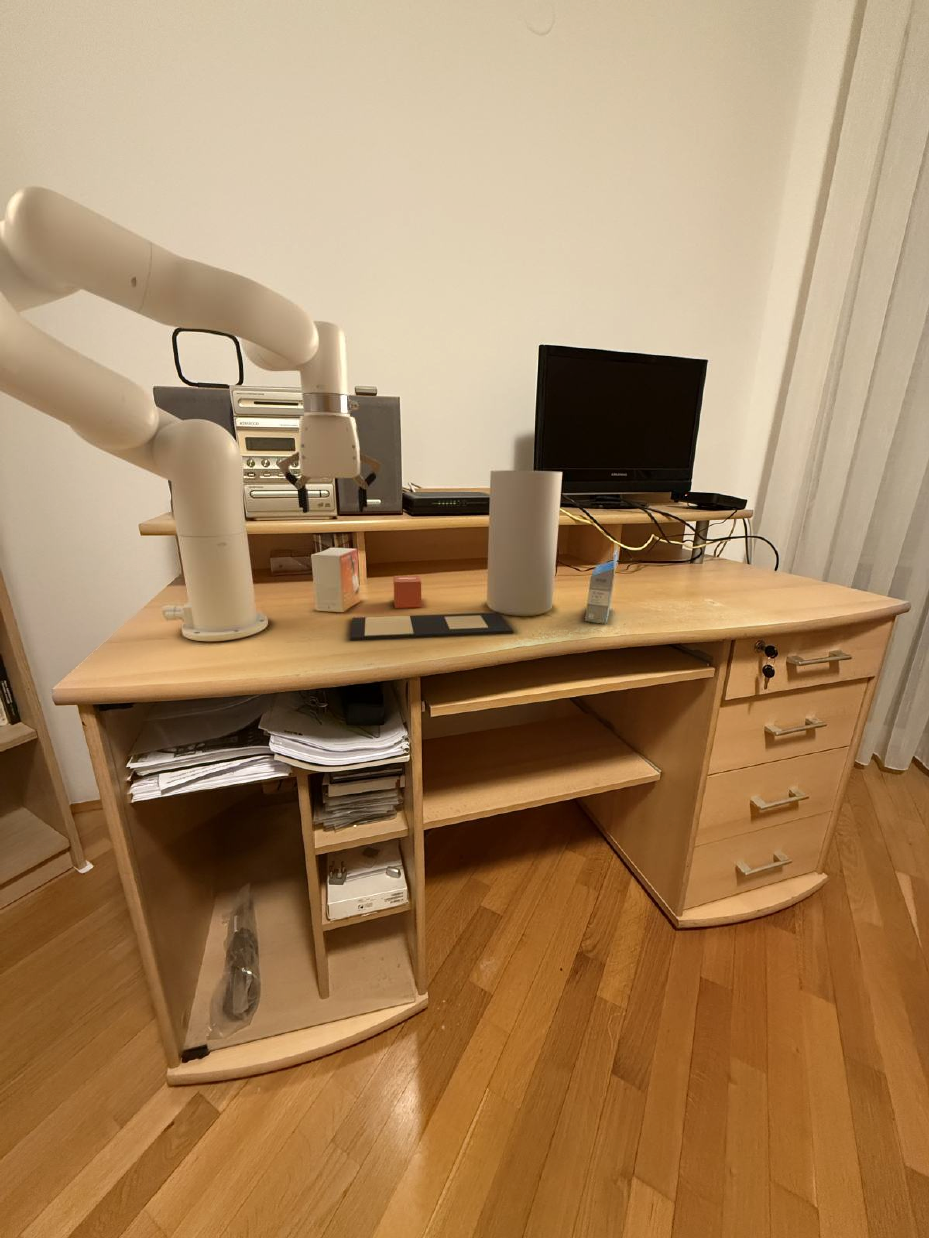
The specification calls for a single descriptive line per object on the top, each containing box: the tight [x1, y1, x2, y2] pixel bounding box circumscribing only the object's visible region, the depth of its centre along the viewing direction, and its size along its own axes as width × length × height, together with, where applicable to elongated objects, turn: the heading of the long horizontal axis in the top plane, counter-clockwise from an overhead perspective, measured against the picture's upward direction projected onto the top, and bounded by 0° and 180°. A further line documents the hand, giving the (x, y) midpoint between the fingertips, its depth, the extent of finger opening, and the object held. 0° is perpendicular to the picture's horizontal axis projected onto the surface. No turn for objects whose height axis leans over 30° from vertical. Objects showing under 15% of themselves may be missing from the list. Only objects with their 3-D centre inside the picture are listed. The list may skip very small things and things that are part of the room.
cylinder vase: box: [486, 469, 563, 617], centre depth 90 cm, size 12×12×25 cm
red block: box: [392, 575, 423, 609], centre depth 94 cm, size 5×5×5 cm
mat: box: [349, 611, 514, 641], centre depth 82 cm, size 26×10×1 cm, turn 100°
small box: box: [310, 547, 361, 613], centre depth 91 cm, size 8×6×10 cm
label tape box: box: [584, 546, 619, 625], centre depth 87 cm, size 9×4×12 cm, turn 161°
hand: (334, 511), depth 87 cm, fingers open, 9 cm apart
